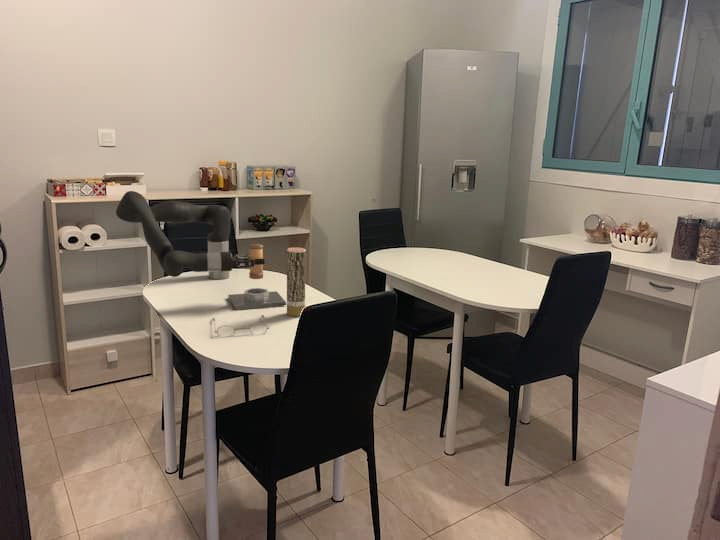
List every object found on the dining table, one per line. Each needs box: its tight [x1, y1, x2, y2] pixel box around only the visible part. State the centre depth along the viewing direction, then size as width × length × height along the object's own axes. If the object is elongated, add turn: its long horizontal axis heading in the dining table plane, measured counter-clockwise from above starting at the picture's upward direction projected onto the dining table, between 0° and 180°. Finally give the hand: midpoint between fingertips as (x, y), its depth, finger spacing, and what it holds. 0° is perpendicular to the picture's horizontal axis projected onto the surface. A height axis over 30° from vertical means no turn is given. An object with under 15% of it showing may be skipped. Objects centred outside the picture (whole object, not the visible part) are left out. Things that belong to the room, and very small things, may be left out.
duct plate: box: [227, 287, 287, 311], centre depth 225 cm, size 16×20×4 cm
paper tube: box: [286, 246, 307, 317], centre depth 209 cm, size 7×7×25 cm
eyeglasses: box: [213, 314, 270, 336], centre depth 198 cm, size 18×19×4 cm
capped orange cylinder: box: [248, 243, 264, 280], centre depth 221 cm, size 5×5×13 cm
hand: (262, 259), depth 222 cm, fingers closed on capped orange cylinder, 5 cm apart
